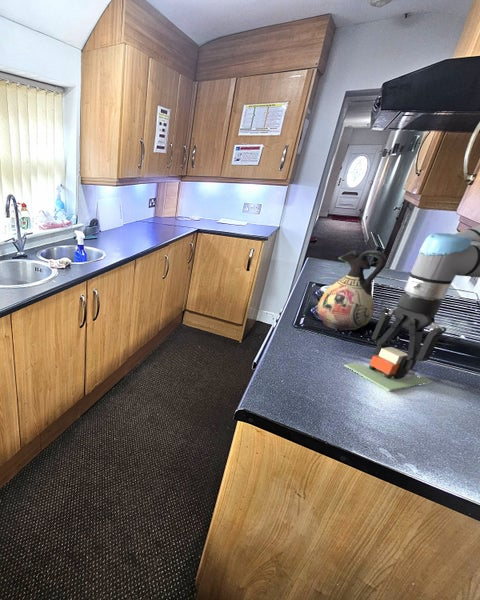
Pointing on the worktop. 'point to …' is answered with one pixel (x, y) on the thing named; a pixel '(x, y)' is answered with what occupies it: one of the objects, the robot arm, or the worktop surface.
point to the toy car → (388, 361)
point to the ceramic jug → (351, 294)
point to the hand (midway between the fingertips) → (387, 371)
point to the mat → (384, 382)
